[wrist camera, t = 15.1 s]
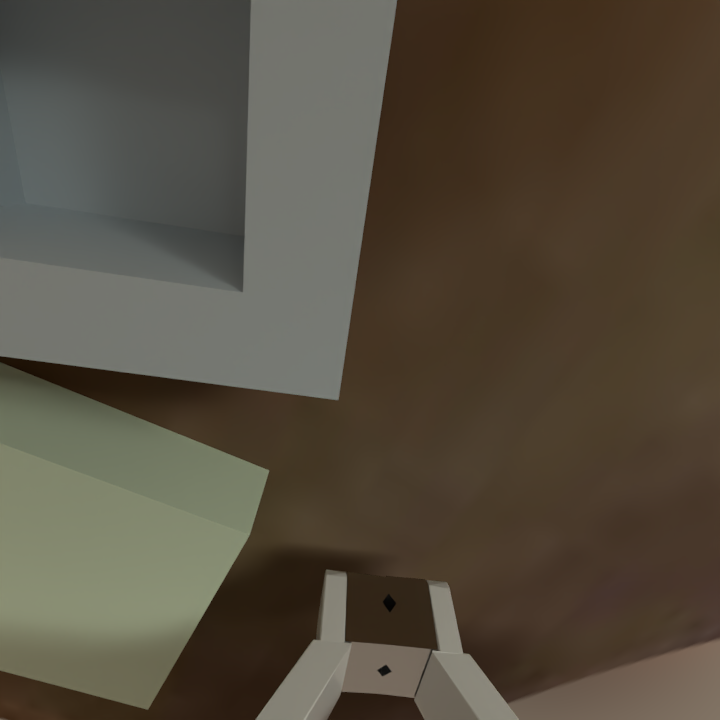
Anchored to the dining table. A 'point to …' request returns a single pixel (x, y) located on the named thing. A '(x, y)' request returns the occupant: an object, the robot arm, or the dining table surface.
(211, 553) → the plate board
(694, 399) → the dining table surface
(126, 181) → the socket block
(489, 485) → the dining table surface
